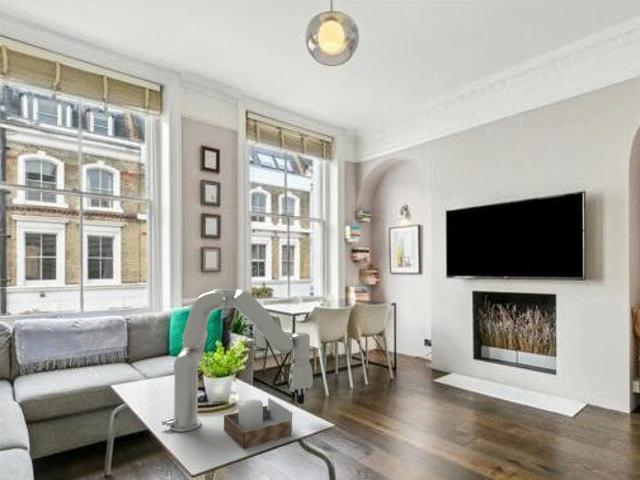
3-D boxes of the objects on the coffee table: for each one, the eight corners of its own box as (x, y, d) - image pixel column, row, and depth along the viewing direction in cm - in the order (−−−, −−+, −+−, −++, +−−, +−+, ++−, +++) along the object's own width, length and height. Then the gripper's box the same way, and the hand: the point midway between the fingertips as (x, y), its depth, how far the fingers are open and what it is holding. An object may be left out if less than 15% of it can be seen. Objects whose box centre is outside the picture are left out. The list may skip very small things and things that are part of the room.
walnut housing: (243, 449, 152) (244, 432, 152) (223, 430, 168) (224, 415, 168) (289, 435, 163) (289, 420, 163) (266, 419, 180) (266, 405, 180)
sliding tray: (246, 447, 153) (247, 423, 153) (226, 428, 169) (227, 406, 169) (292, 434, 164) (292, 411, 164) (269, 418, 180) (269, 397, 181)
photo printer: (241, 436, 160) (241, 404, 160) (236, 432, 163) (237, 401, 164) (264, 429, 166) (264, 399, 166) (259, 426, 169) (259, 396, 170)
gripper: (290, 365, 172) (289, 409, 172) (319, 360, 181) (318, 402, 180) (282, 361, 179) (281, 403, 178) (310, 357, 187) (309, 397, 186)
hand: (300, 403), depth 179 cm, fingers closed
